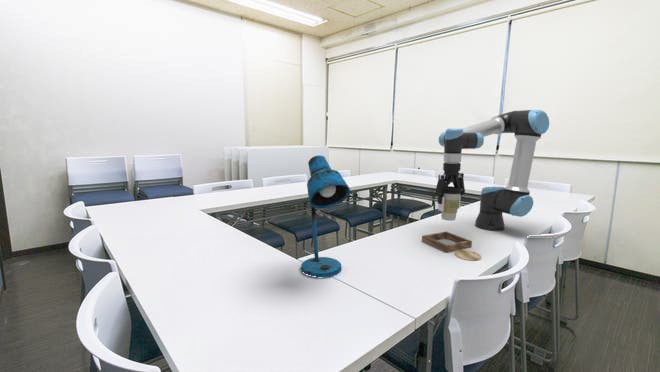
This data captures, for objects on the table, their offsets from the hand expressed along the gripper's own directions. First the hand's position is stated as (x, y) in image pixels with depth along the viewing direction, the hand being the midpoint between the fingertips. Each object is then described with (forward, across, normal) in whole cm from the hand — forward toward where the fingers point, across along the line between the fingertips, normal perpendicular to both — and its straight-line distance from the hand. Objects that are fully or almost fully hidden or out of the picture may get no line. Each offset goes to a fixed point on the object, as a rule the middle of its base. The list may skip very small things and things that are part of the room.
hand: (449, 209), depth 152 cm
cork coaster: (+17, +2, +14) cm, 23 cm away
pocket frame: (+17, 0, 0) cm, 17 cm away
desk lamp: (+17, +66, +1) cm, 68 cm away
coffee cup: (+5, 0, 0) cm, 5 cm away
